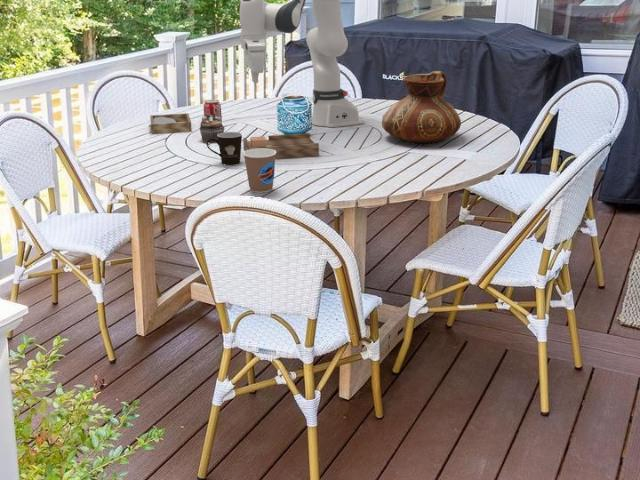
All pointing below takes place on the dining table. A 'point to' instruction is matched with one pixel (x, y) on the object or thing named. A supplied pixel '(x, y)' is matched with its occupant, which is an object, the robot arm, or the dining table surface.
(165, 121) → the stone block
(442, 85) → the jug
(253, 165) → the coffee cup
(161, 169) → the dining table surface
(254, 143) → the block
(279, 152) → the trap box
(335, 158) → the dining table surface
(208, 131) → the cupcake
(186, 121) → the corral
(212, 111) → the soda can
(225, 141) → the coffee mug
